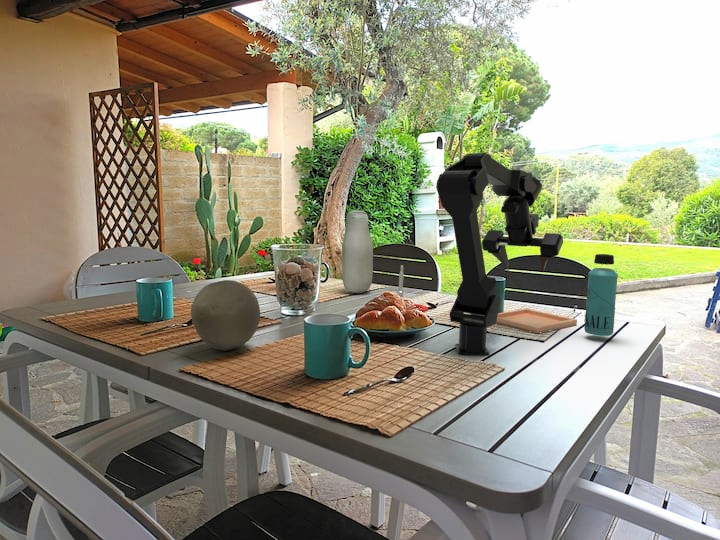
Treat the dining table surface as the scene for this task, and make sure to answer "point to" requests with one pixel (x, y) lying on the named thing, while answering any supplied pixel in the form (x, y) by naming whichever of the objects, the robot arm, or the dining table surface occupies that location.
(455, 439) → the dining table surface
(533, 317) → the tray
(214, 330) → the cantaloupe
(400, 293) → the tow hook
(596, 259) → the beverage bottle
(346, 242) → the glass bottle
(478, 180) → the robot arm
